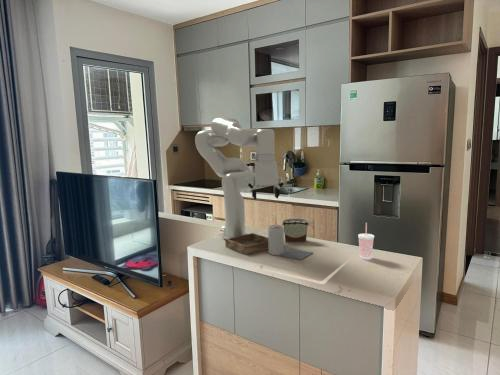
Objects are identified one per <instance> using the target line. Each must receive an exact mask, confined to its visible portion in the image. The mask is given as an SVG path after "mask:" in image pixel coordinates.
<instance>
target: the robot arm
mask: <svg viewBox="0 0 500 375" xmlns="http://www.w3.org/2000/svg"><path fill="white" fill-rule="evenodd" d="M194 141H195V143H194V144H195V147H196V149H197V151H198V153H199V154H200V156H201V157H202V158H203V159H204V160H205V161H206V162H207V163H208V164H209V166H210V167H211V170H213V171H214V173H215V174H216V175H217V176H218V177H219V178H222V179H221V187H222V192H223V200H224V223H225V224H224V225H225V226H221V228H220V229H219V231H220V232H223V234H222V236H221V237H222V239H224V240H225V239H228V238H233V237H237V236H242V235H246V234H248V232H246V219H245V218H246V216H245V212H246V210H245V209H246V208H245V199H244V197H243V195H242V194H241V192H247V191H251V197H252V198H253V199H254V200H257V188H258V187H264V186H266V187H267V186H274V187H275V188H274V198H275V199H279V197H280V189H281V188H282V187H283V185H284V184H285V181H286V178H285V177H283V176H281V175H279V171H278V170H279V169H278V163H277V161H276V160H275V131H274V130H273V129H272V128H242V126H241V124H240V122H239V120H237V119H236V118H234V117H217V118H215V119H213V120H212V121H211V123H210V129H205V130H201V131H198V132H197V133H196V135H195V137H194ZM229 143H230V144H232V145H234V146H238V147H256V155H254V156H253V157H252V159H253V160H256V161H255V162H254V169H253V171H252V169H251V168H250V167H249V166H248V165H247V163H246V162H245V161H244V160H243V159H242V158H239V157H226V156H225V155H224V154H223V153H222V152H221V150H219V149H217V147H225V146H227V145H229ZM279 180H280V182H279Z"/></svg>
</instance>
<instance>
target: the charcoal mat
mask: <svg viewBox="0 0 500 375" xmlns="http://www.w3.org/2000/svg"><path fill="white" fill-rule="evenodd" d="M311 255H313V251H307V250H302V249H297V248H289V249H288V250H287V251H284V253H283V254H280V255H279V256H280V257H284V258H288V259H294V260H300V261H302V260H304V259H306V258H308V257H309V256H311Z"/></svg>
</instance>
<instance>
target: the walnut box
mask: <svg viewBox="0 0 500 375" xmlns="http://www.w3.org/2000/svg"><path fill="white" fill-rule="evenodd" d="M224 240H225V241H224V242H225V243H224V244H225V247H226V248H227V249H230V250H233V251H235V252H238V253H241V254H243V255H245V256H248V255H252V254H256V253H259V252H263V251H266V250H268V237H267V236H264V235H261V234H257V233H254V232H252V233H247V234H246V235H242V236H237V237H233V238H228V239H224ZM253 241H254V242H256V243H254V244H250V245H245V244H243V243H248V242H253Z"/></svg>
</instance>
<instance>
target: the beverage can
mask: <svg viewBox="0 0 500 375" xmlns="http://www.w3.org/2000/svg"><path fill="white" fill-rule="evenodd" d="M267 230H268V231H267V232H268V234H267V235H268V237H267V238H268V249H267V250H268V254H269V255H272V256H280V254H283V253H284V252H285V246H284V244H285V242H284V241H285V234H284V226H283V225H282V224H271V225H268V229H267Z"/></svg>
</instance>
